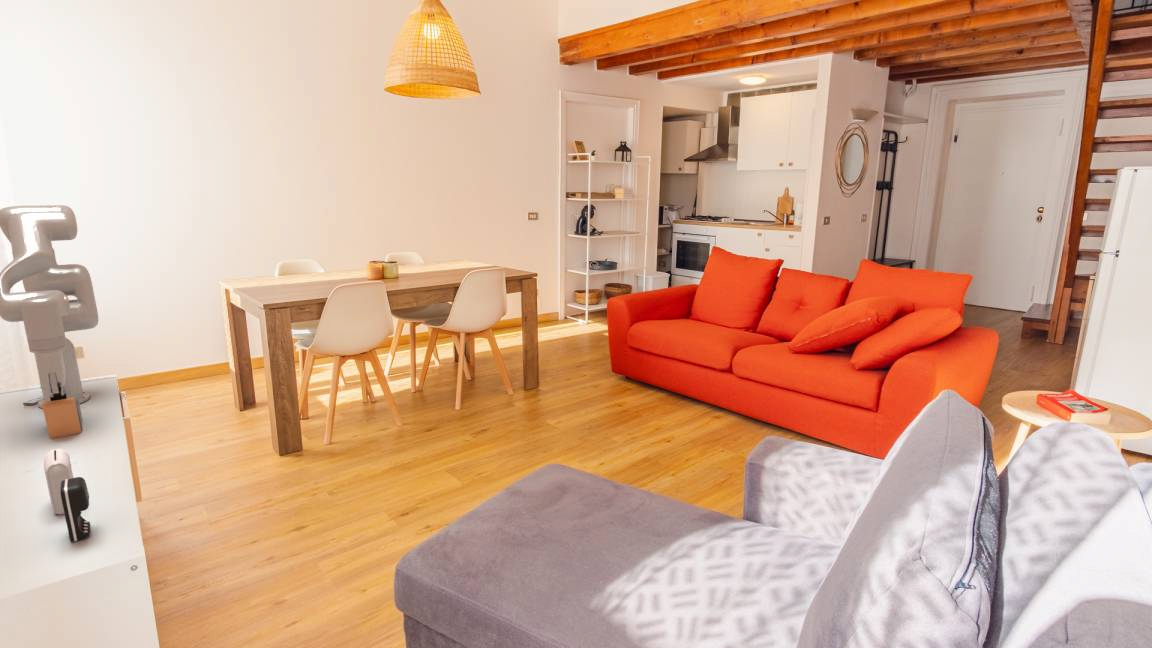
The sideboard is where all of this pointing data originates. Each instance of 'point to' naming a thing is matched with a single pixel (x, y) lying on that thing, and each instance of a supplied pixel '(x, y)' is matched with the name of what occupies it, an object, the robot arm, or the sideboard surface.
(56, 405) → the side door
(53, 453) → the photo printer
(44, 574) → the sideboard surface
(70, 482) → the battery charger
